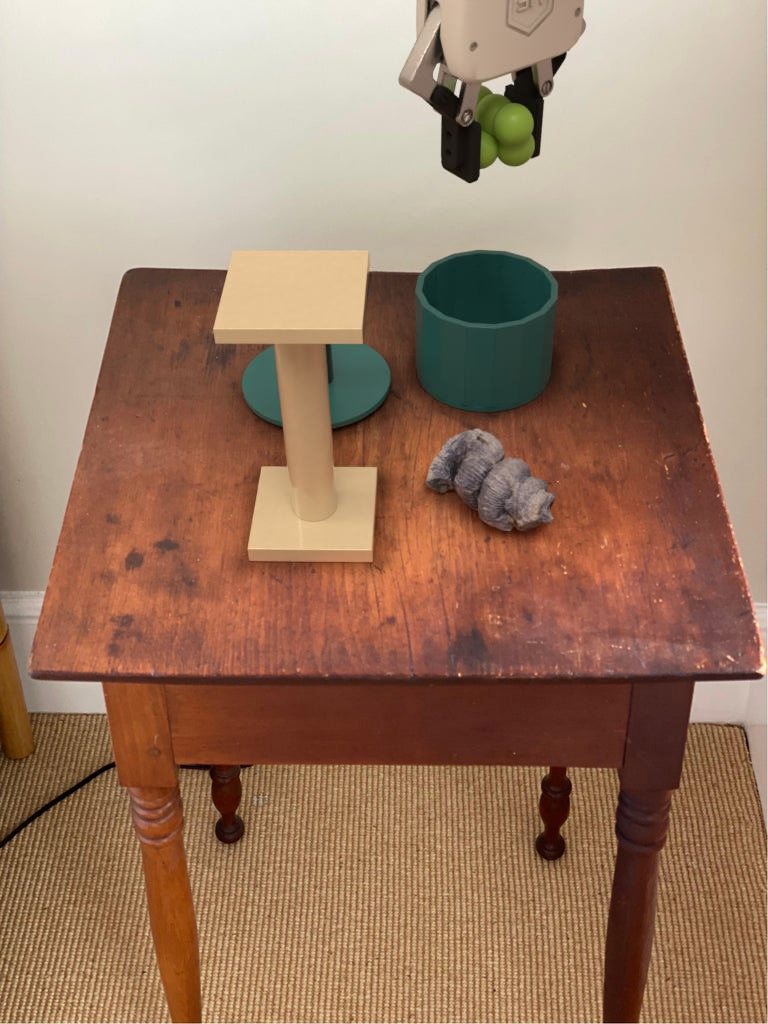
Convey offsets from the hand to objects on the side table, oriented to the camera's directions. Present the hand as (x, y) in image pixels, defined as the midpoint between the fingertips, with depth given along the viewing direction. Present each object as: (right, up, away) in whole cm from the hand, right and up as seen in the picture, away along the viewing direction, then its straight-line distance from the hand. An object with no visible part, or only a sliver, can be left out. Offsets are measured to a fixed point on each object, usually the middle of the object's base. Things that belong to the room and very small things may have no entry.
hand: (490, 159), depth 75 cm
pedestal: (-12, -24, +1) cm, 27 cm away
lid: (-12, -14, +10) cm, 21 cm away
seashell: (0, -23, +1) cm, 23 cm away
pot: (+1, -12, +12) cm, 17 cm away
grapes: (0, 0, 0) cm, 0 cm away
